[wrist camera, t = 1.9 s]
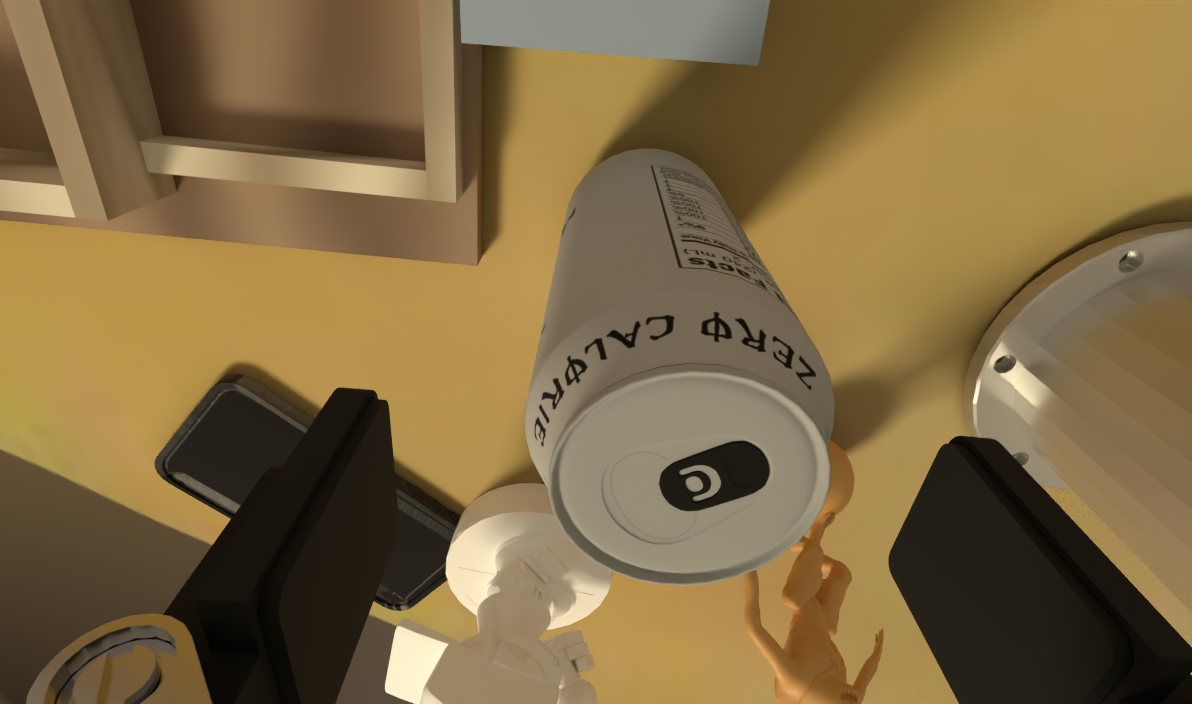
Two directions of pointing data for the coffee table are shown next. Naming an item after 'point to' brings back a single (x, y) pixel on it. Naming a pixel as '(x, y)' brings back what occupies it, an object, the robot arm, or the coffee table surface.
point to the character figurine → (506, 611)
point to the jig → (246, 122)
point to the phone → (268, 437)
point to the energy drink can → (674, 383)
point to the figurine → (813, 612)
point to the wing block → (623, 27)
